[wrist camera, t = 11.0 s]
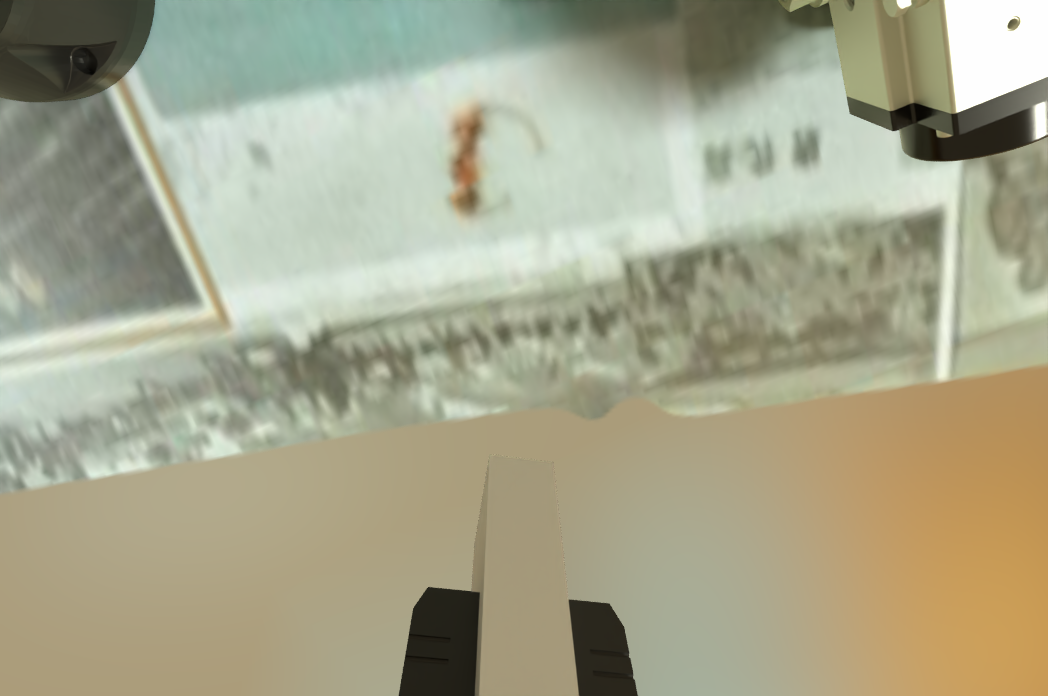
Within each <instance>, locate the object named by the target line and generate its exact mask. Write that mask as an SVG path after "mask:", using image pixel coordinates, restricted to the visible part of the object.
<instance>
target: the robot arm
mask: <svg viewBox="0 0 1048 696" xmlns="http://www.w3.org/2000/svg"><path fill="white" fill-rule="evenodd" d="M154 7H155V0H0V98H5V99H10V100H16V101H24V102H54V101H68V100H76V99H81V98H85V97H88V96H92V95H94V94H97V93H99V92H101V91H103V90H105V89H107V88H109V87H110V86H112V85H113V84H115V83H116V82H117V81H119V80H120V79H121V78H122V77H123V76H124V75H125V74H126V73H127V72H128V71H129V70H130V69H131V68H132V66H133V65H134V64H135V62H136V61H137V59H138V58H139V56H140V54H141V53H142V51H143V49H144V46H145V44H146V42H147V39H148V36H149V33H150V30H151V26H152V21H153V16H154ZM399 696H638V695H637V691H636V685H635V680H634V679H633V670H632V664H631V660H630V658H629V650H628V645H627V640H626V634H625V629H624V626H623V625H622V623H621V621H620V620H619V618H618V617H617V615H616V613H615V612H614V610H613V609H612V607H611V606H610V604H608V603H598V602H588V601H578V600H568V591H567V582H566V573H565V564H564V555H563V545H562V536H561V527H560V517H559V508H558V500H557V491H556V481H555V472H554V463H553V462H550V461H542V460H533V459H525V458H517V457H508V456H499V455H492V454H490V455H489V461H488V467H487V473H486V479H485V485H484V491H483V496H482V502H481V508H480V514H479V520H478V526H477V532H476V538H475V544H474V560H473V574H472V589H471V591H462V590H452V589H442V588H432V587H428V588H427V589H426V591H425V592H424V593H423V595H422V596H421V598H420V599H419V601H418V602H417V604H416V605H415V606H414V608H413V613H412V619H411V625H410V631H409V638H408V644H407V650H406V655H405V661H404V667H403V673H402V679H401V685H400V691H399Z"/></svg>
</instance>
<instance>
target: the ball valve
mask: <svg viewBox="0 0 1048 696" xmlns="http://www.w3.org/2000/svg"><path fill="white" fill-rule="evenodd" d="M778 1H779V2H780V4H781V5H782V6H783V7H784V8H785V9H786V10H788V11H789V12H792V11H794V10H796V9H798V8H800V7H803V6H805V5H807V4H809V5H811V6H812V7H815V8H816V7H819V6H821V5H823V4H826V3H828V2H829V7H830V12H831V16H832V21H833V26H834V32H835V37H836V42H837V48H838V53H839V58H840V64H841V69H842V74H843V80H844V85H845V90H846V96H847V101H848V106H849V112H850V114H852V115H854V116H857V117H859V118H861V119H864V120H866V121H869V122H871V123H874V124H876V125H879V126H881V127H884V128H886V129H889V130H891V131H897V130H899V132H900V138H901V145H902V150H903V151H904V152H905V154H907V155H908V156H910V157H912V158H915V159H919V160H924V161H959V160H967V159H974V158H980V157H985V156H990V155H995V154H999V153H1003V152H1007V151H1010V150H1014V149H1017V148H1020V147H1023V146H1026V145H1029V144H1031V143H1034V142H1036V141H1039V140H1041V139H1044V138H1046V137H1048V0H778Z"/></svg>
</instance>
